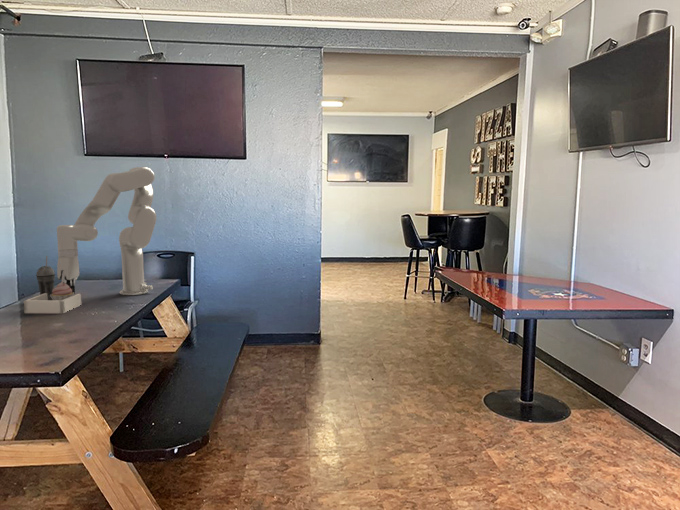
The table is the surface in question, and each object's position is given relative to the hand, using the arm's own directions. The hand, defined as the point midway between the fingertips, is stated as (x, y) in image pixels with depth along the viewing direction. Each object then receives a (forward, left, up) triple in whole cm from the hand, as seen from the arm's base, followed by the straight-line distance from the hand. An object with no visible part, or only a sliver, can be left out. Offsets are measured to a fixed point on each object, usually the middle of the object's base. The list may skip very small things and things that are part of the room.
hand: (70, 294), depth 216 cm
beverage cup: (+11, -1, -3) cm, 11 cm away
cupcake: (0, +6, -3) cm, 7 cm away
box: (0, +13, -3) cm, 13 cm away
